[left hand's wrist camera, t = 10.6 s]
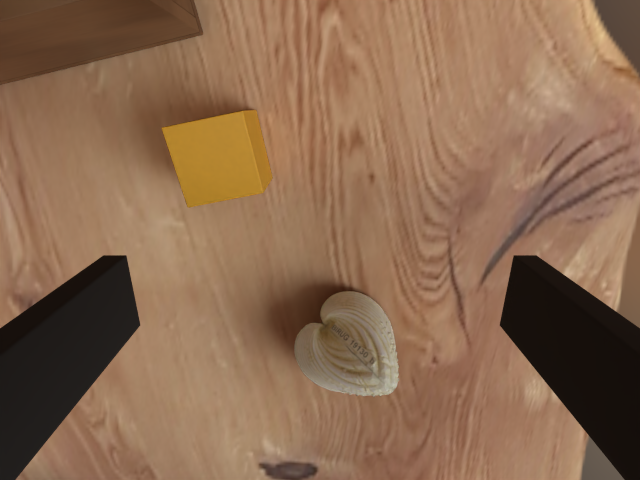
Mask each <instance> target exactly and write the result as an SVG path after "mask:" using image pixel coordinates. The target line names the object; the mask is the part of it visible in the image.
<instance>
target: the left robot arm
mask: <svg viewBox="0 0 640 480" xmlns="http://www.w3.org/2000/svg"><path fill="white" fill-rule="evenodd" d="M139 326H140V321H139V316H138V311H137V307H136V302H135V297H134V292H133V287H132V282H131V277H130V272H129V267H128V262H127V257H126V256H102V257H101V258H99V259H98V260H97V261H95V262H94V263H92V264H91V265H89V266H88V267H87V268H85V269H84V270H82V271H81V272H80V273H78V274H77V275H75V276H74V277H72V278H71V279H70V280H68V281H67V282H65V283H64V284H63V285H61V286H60V287H58V288H57V289H55V290H54V291H53V292H51V293H50V294H48V295H47V296H46V297H44V298H43V299H41V300H40V301H38V302H37V303H36V304H34V305H33V306H31V307H30V308H29V309H27V310H26V311H24V312H23V313H21V314H20V315H19V316H17V317H16V318H14V319H13V320H12V321H10V322H9V323H7V324H6V325H4V326H3V327H2V328H0V480H15V479H16V478H17V477H18V476H19V474H20V473H21V472H22V471H23V469H24V468H25V467H26V466H27V465H28V463H29V462H30V461H31V460H32V458H33V457H34V456H35V455H36V453H37V452H38V451H39V450H40V448H41V447H42V446H43V445H44V443H45V442H46V441H47V440H48V439H49V437H50V436H51V435H52V434H53V432H54V431H55V430H56V429H57V427H58V426H59V425H60V424H61V422H62V421H63V420H64V419H65V418H66V416H67V415H68V414H69V413H70V411H71V410H72V409H73V408H74V406H75V405H76V404H77V403H78V401H79V400H80V399H81V398H82V397H83V395H84V394H85V393H86V392H87V390H88V389H89V388H90V387H91V385H92V384H93V383H94V382H95V380H96V379H97V378H98V377H99V376H100V374H101V373H102V372H103V371H104V369H105V368H106V367H107V366H108V364H109V363H110V362H111V361H112V359H113V358H114V357H115V356H116V354H117V353H118V352H119V351H120V350H121V348H122V347H123V346H124V345H125V343H126V342H127V341H128V340H129V338H130V337H131V336H132V335H133V333H134V332H135V331H136V330H137V329H138V327H139ZM500 326H501V327H502V329H503V330H504V331H505V332H506V333H507V335H508V336H509V337H510V338H511V340H512V341H513V342H514V343H515V345H516V346H517V347H518V348H519V350H520V351H521V352H522V353H523V354H524V356H525V357H526V358H527V359H528V361H529V362H530V363H531V364H532V366H533V367H534V368H535V369H536V371H537V372H538V373H539V374H540V376H541V377H542V378H543V379H544V380H545V382H546V383H547V384H548V385H549V387H550V388H551V389H552V390H553V392H554V393H555V394H556V395H557V397H558V398H559V399H560V400H561V401H562V403H563V404H564V405H565V406H566V408H567V409H568V410H569V411H570V413H571V414H572V415H573V416H574V418H575V419H576V420H577V421H578V422H579V424H580V425H581V426H582V427H583V429H584V430H585V431H586V432H587V434H588V435H589V436H590V437H591V439H592V440H593V441H594V442H595V444H596V445H597V446H598V447H599V448H600V450H601V451H602V452H603V453H604V455H605V456H606V457H607V458H608V460H609V461H610V462H611V463H612V465H613V466H614V467H615V468H616V469H617V471H618V472H619V473H620V474H621V476H622V477H623V478H624V479H625V480H640V328H638V327H637V326H636V325H634V324H633V323H631V322H630V321H628V320H627V319H626V318H624V317H623V316H621V315H620V314H619V313H617V312H616V311H614V310H613V309H611V308H610V307H609V306H607V305H606V304H604V303H603V302H602V301H600V300H599V299H597V298H596V297H594V296H593V295H592V294H590V293H589V292H587V291H586V290H585V289H583V288H582V287H580V286H579V285H577V284H576V283H575V282H573V281H572V280H570V279H569V278H568V277H566V276H565V275H563V274H562V273H560V272H559V271H558V270H556V269H555V268H553V267H552V266H551V265H549V264H548V263H546V262H545V261H543V260H542V259H541V258H539V257H538V256H514V257H513V262H512V267H511V272H510V277H509V282H508V287H507V292H506V297H505V302H504V307H503V311H502V316H501V321H500Z"/></svg>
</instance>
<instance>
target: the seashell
mask: <svg viewBox="0 0 640 480" xmlns="http://www.w3.org/2000/svg"><path fill="white" fill-rule="evenodd" d="M320 316H321V320H322V323H310V324H308V325H306V326H305V327H304V328H303V329H301V331H300V332H299V333H298V335H297V337H296V340H295V347H294V351H295V358H296V360H297V363H298V365H299V367H300V368H301V370H302V372H303V373H304V374H305V375H306V376H307V377H308V378H309V379H310V380H311V381H313V382H314V383H315V384H317V385H319V386H321V387H323V388H325V389H328V390H331V391H336V392H342V393H343V394H344V393H349V394H350V395H351V394H356V395H357V396H358V395H362V396H366V395H372V396H376V395H379V396H382V395H388V394H390V393H392V392H393V391H394V389H395V388H396V387H397V382H398V381H399V379H398V375H399V372H398V368H399V365H398V364H397V361H398V358H397V357H396V356H397V352H396V346H395V339H394V334H393V329H392V326H391V323H390V321H389V319H388V317H387V315H386V314H385V312H384V311H383V309H382V308H381V307H380V306H379V305H378V304H377V303H376V302H375V301H374V300H373V299H371V298H370V297H368V296H366V295H364V294H362V293H358V292H354V291H343V292H339V293H336V294H334V295H332V296H330V297H329V298H328V299H327V300H326V301H325V302H324V304H323V306H322V308H321V312H320Z"/></svg>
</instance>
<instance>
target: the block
mask: <svg viewBox="0 0 640 480" xmlns="http://www.w3.org/2000/svg"><path fill="white" fill-rule="evenodd" d="M162 131H163V134H164V137H165V140H166V143H167V146H168V149H169V152H170V155H171V158H172V161H173V164H174V167H175V171H176V174H177V177H178V180H179V183H180V186H181V189H182V192H183V195H184V198H185V201H186V204H187V207H194V206H199V205H204V204H209V203H214V202H219V201H224V200H230V199H235V198H240V197H245V196H250V195H255V194H260V193H263V192H264V191H265V189H266V188H267V186H268V184H269V183H270V181H271V180H272V173H271V169H270V165H269V161H268V157H267V153H266V149H265V144H264V140H263V136H262V132H261V128H260V124H259V120H258V115H257V111H256V110H245V111H238V112H233V113H229V114H224V115H219V116H214V117H210V118H205V119H200V120H195V121H190V122H186V123H181V124H176V125H171V126H167V127H162Z"/></svg>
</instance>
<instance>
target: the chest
mask: <svg viewBox="0 0 640 480" xmlns="http://www.w3.org/2000/svg"><path fill="white" fill-rule="evenodd" d="M202 34H203V31H202V28H201V24H200V21H199V17H198V14H197V10H196V7H195V3H194V0H0V85H1V84H5V83H9V82H13V81H17V80H21V79H25V78H29V77H33V76H37V75H41V74H45V73H49V72H53V71H57V70H61V69H65V68H69V67H73V66H77V65H81V64H86V63H90V62H94V61H98V60H102V59H106V58H110V57H114V56H118V55H122V54H126V53H130V52H134V51H138V50H142V49H146V48H150V47H154V46H158V45H162V44H166V43H170V42H174V41H178V40H183V39H187V38H191V37H195V36H199V35H202Z"/></svg>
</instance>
